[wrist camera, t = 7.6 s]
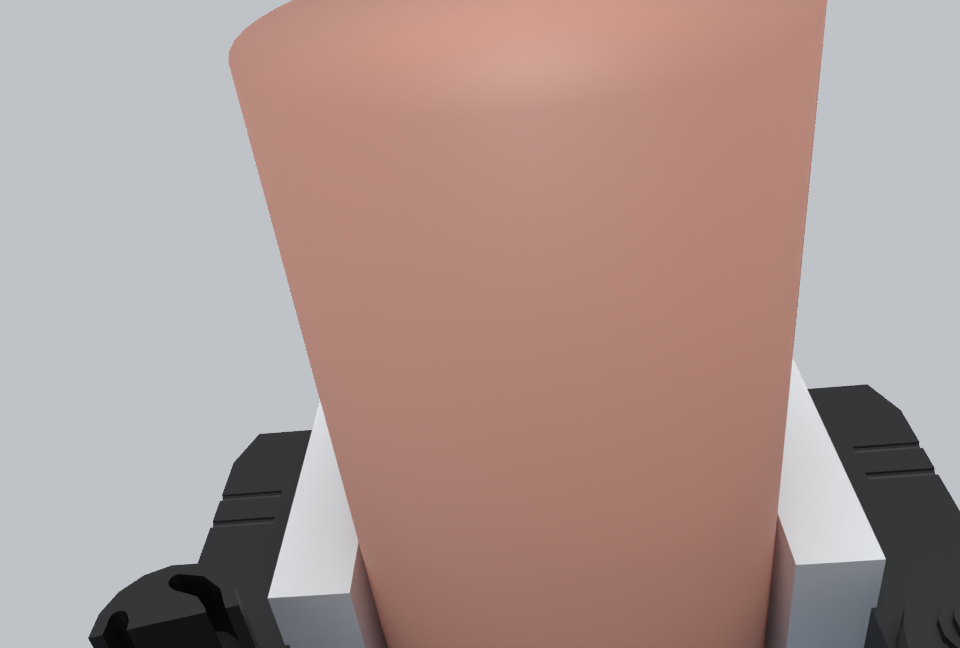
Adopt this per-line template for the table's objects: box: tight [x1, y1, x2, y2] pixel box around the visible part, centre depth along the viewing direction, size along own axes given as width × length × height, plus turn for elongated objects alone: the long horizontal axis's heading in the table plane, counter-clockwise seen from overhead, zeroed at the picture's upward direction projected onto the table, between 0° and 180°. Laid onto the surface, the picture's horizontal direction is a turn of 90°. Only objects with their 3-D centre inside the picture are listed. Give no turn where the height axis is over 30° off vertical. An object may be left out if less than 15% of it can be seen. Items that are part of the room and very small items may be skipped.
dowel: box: [229, 0, 827, 648], centre depth 10 cm, size 4×4×14 cm
